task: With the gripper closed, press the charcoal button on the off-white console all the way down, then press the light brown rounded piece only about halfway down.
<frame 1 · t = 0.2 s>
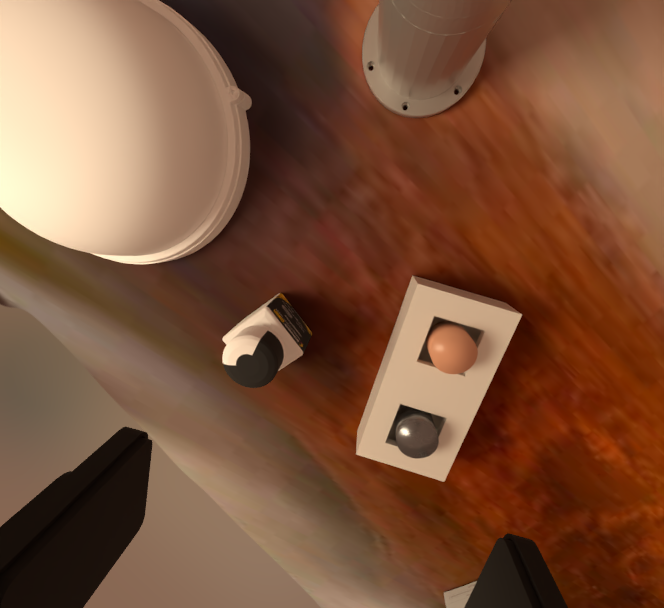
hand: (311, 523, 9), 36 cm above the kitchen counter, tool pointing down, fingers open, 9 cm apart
dome cover: (134, 142, 43), on the kitchen counter
supplement box: (473, 597, 57), on the kitchen counter
charcoal button: (415, 430, 43), point 5 cm above the kitchen counter, slide at 0.0 cm
button console: (425, 371, 47), on the kitchen counter
light brown rounded piece: (450, 346, 40), point 5 cm above the kitchen counter, slide at 0.0 cm
medicine bottle: (277, 326, 47), on the kitchen counter
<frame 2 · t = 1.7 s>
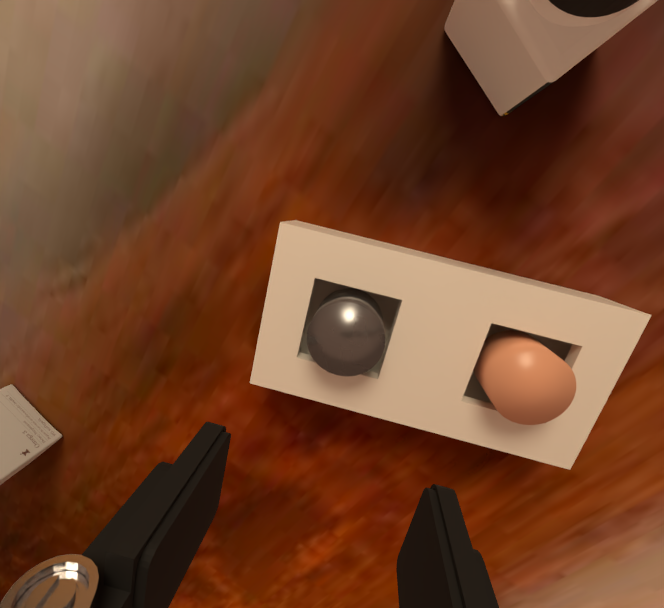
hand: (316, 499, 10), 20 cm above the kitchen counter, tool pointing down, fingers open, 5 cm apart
supplement box: (21, 424, 36), on the kitchen counter
charcoal button: (347, 330, 24), point 5 cm above the kitchen counter, slide at 0.0 cm
button console: (421, 328, 28), on the kitchen counter
light brown rounded piece: (519, 374, 23), point 5 cm above the kitchen counter, slide at 0.0 cm
medicine bottle: (517, 36, 23), on the kitchen counter
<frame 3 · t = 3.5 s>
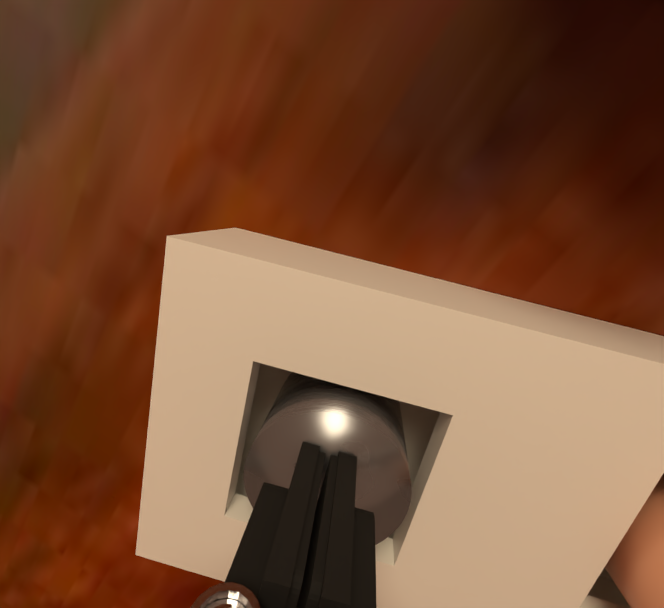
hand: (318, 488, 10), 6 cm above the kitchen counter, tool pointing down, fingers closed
charcoal button: (332, 443, 12), point 4 cm above the kitchen counter, slide at 1.3 cm, touching gripper
button console: (471, 426, 15), on the kitchen counter
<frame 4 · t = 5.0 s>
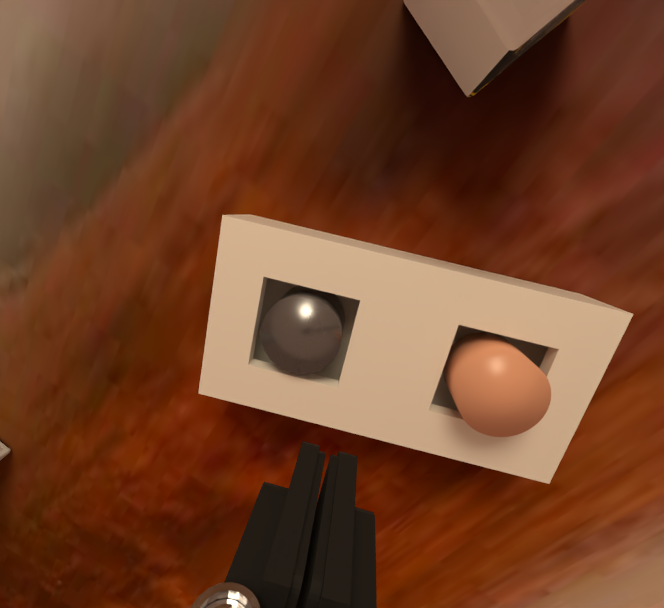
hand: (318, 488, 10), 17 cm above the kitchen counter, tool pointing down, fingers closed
charcoal button: (305, 326, 23), point 3 cm above the kitchen counter, slide at 1.5 cm
button console: (390, 330, 26), on the kitchen counter
light brown rounded piece: (490, 381, 21), point 5 cm above the kitchen counter, slide at 0.0 cm
medicine bottle: (483, 8, 21), on the kitchen counter
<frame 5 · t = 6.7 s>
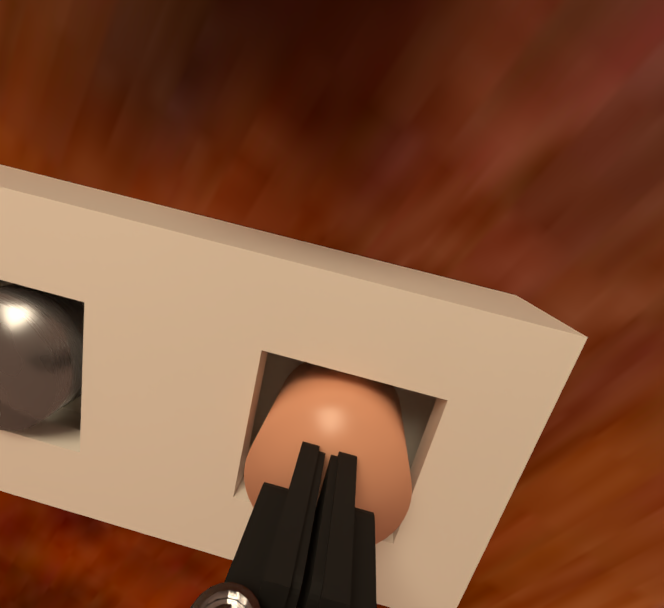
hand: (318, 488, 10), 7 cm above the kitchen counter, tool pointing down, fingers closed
charcoal button: (41, 344, 14), point 3 cm above the kitchen counter, slide at 1.5 cm
button console: (223, 349, 17), on the kitchen counter
light brown rounded piece: (333, 442, 12), point 4 cm above the kitchen counter, slide at 0.5 cm, touching gripper
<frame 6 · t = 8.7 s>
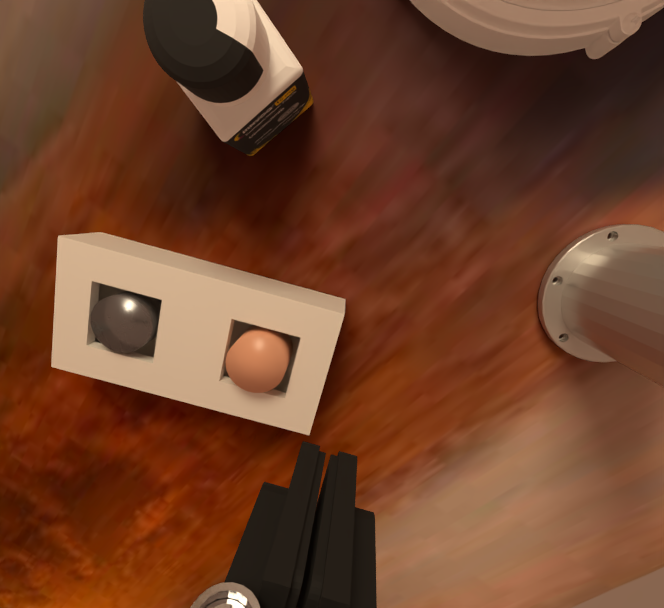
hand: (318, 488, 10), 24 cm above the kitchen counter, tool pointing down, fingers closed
charcoal button: (133, 318, 31), point 3 cm above the kitchen counter, slide at 1.5 cm
button console: (213, 323, 34), on the kitchen counter
light brown rounded piece: (261, 356, 30), point 4 cm above the kitchen counter, slide at 0.8 cm
medicine bottle: (256, 95, 29), on the kitchen counter
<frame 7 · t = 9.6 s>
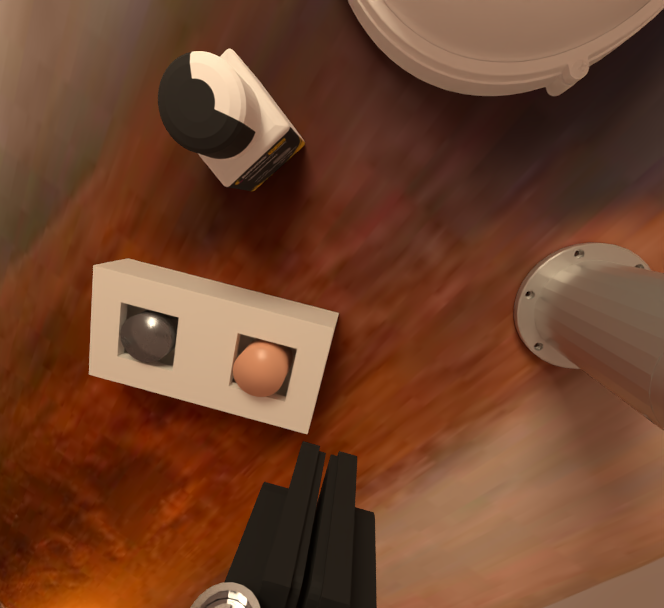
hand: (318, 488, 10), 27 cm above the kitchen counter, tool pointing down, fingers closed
charcoal button: (156, 332, 36), point 3 cm above the kitchen counter, slide at 1.5 cm
button console: (224, 335, 39), on the kitchen counter
light brown rounded piece: (264, 364, 35), point 4 cm above the kitchen counter, slide at 0.8 cm
medicine bottle: (256, 139, 34), on the kitchen counter
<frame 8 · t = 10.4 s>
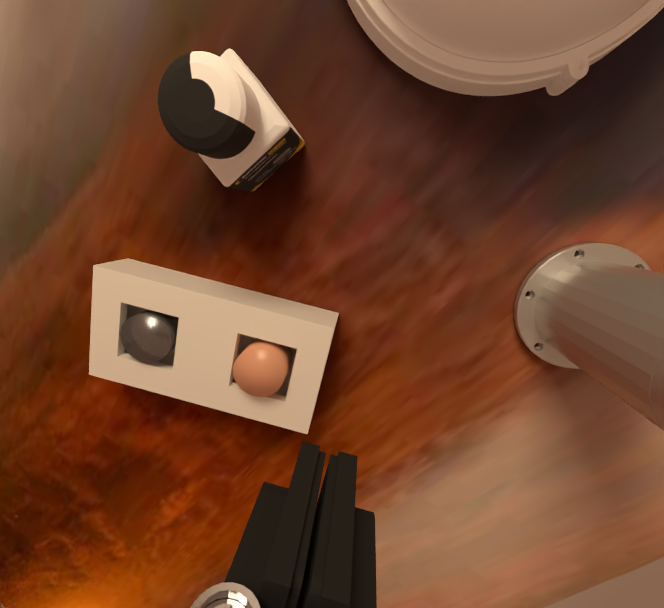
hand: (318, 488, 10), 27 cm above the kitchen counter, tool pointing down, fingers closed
charcoal button: (156, 332, 36), point 3 cm above the kitchen counter, slide at 1.5 cm
button console: (224, 335, 39), on the kitchen counter
light brown rounded piece: (264, 364, 35), point 4 cm above the kitchen counter, slide at 0.8 cm
medicine bottle: (256, 139, 34), on the kitchen counter
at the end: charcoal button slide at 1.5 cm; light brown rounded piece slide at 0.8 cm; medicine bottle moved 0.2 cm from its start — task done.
